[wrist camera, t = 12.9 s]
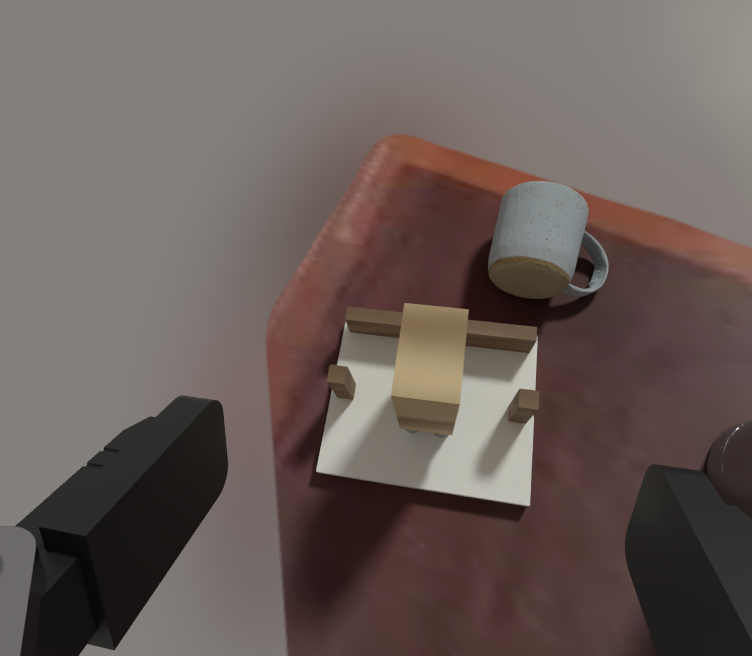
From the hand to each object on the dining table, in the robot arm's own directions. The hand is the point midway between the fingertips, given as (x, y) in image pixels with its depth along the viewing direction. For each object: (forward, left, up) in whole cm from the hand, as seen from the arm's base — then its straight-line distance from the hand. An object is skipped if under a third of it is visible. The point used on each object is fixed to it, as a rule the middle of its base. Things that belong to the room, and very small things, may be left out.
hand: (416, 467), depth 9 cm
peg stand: (+4, -8, -33) cm, 34 cm away
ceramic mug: (+3, -25, -33) cm, 42 cm away
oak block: (+4, -8, -28) cm, 30 cm away
